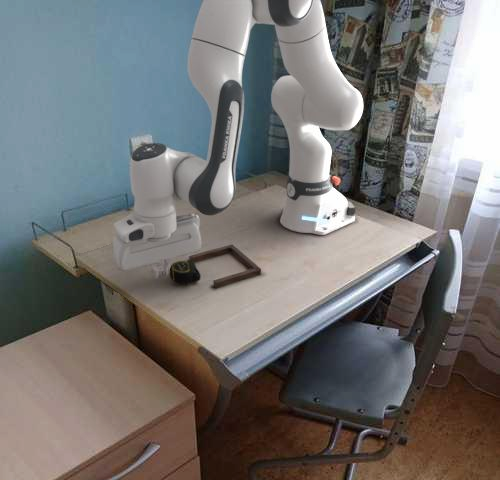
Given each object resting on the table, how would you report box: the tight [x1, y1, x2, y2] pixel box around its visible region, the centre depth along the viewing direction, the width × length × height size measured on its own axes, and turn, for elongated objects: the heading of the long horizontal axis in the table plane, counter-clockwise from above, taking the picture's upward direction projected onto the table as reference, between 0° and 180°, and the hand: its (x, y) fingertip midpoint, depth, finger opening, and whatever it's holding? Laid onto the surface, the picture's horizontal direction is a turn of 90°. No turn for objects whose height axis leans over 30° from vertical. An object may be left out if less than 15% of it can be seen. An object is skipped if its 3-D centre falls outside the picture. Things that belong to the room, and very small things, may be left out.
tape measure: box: [168, 259, 201, 285], centre depth 123 cm, size 7×7×4 cm
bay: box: [188, 243, 262, 289], centre depth 129 cm, size 13×14×2 cm
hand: (161, 275), depth 120 cm, fingers closed
